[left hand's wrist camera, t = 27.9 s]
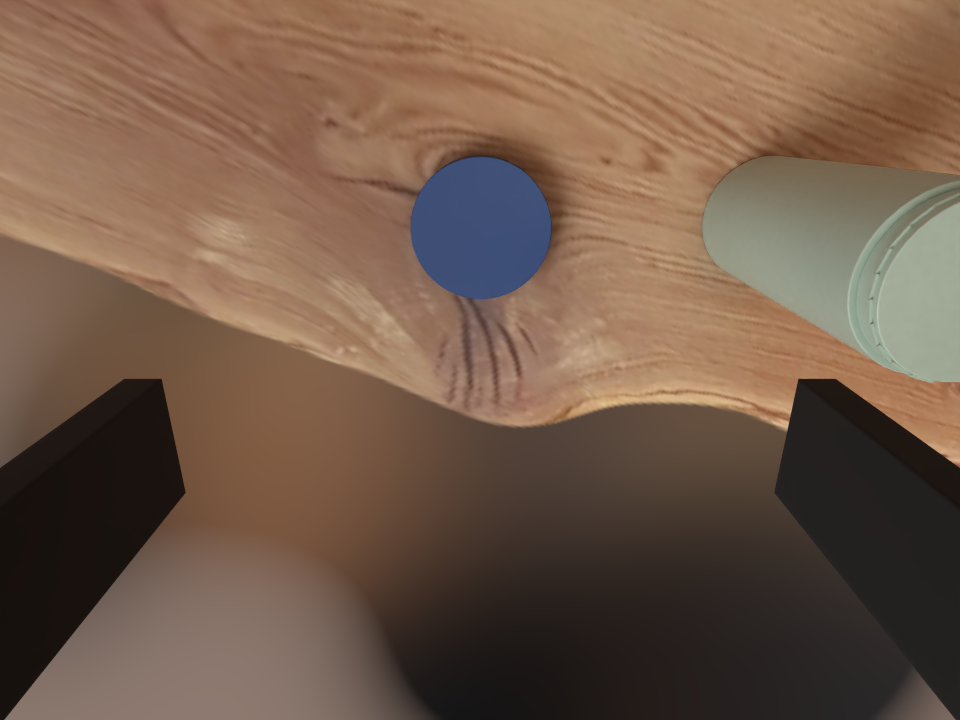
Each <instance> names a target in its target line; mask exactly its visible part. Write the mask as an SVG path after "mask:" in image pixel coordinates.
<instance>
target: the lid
mask: <svg viewBox="0 0 960 720" xmlns="http://www.w3.org/2000/svg"><path fill="white" fill-rule="evenodd" d="M411 238H412V244H413V248H414V251H415V253H416V256H417V258H418V260H419V262H420V264H421V266H422V267H423V269H424V270H425V271H426V273H427V274H428V275H429V276H430V277H431V278H432V279H433V280H434V281H435V282H436V283H437V284H439V285H440V286H441V287H443V288H445V289H446V290H448V291H450V292H452V293H454V294H457V295H460V296H463V297H468V298H474V299H488V298H494V297H499V296H502V295H505V294H508V293H510V292H512V291H514V290H516V289H518V288H519V287H521V286H522V285H523V284H525V283H526V282H527V281H528V280H529V279H530V278H531V277H532V276H533V275H534V274H535V273H536V271H537V270H538V269H539V267H540V266H541V264H542V262H543V260H544V258H545V256H546V254H547V251H548V248H549V244H550V240H551V217H550V211H549V208H548V204H547V202H546V199H545V197H544V195H543V193H542V192H541V190H540V188H539V187H538V185H537V184H536V183H535V182H534V180H533V179H532V178H531V177H530V176H529V175H528V174H527V173H526V172H525V171H523V170H522V169H521V168H519V167H518V166H516V165H515V164H513V163H511V162H509V161H507V160H504V159H501V158H497V157H492V156H482V155H479V156H469V157H465V158H461V159H458V160H456V161H453V162H451V163H449V164H448V165H446V166H444V167H443V168H441V169H440V170H439V171H437V172H436V173H435V174H434V175H433V176H432V177H431V178H430V179H429V181H428V182H427V183H426V184H425V186H424V187H423V188H422V190H421V192H420V193H419V195H418V197H417V200H416V202H415V205H414V208H413V212H412V218H411Z"/></svg>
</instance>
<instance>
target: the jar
mask: <svg viewBox="0 0 960 720" xmlns="http://www.w3.org/2000/svg"><path fill="white" fill-rule="evenodd" d="M702 234H703V240H704V244H705V247H706V249H707V251H708V253H709V255H710V257H711V258H712V260H713V261H714V262H715V263H716V264H717V265H718V266H719V267H720V268H721V269H723V270H724V271H725V272H727V273H729V274H730V275H732V276H734V277H735V278H737V279H739V280H740V281H742V282H744V283H745V284H747V285H749V286H750V287H752V288H754V289H755V290H757V291H759V292H760V293H762V294H764V295H765V296H767V297H769V298H770V299H772V300H774V301H775V302H777V303H779V304H780V305H782V306H784V307H785V308H787V309H789V310H790V311H792V312H794V313H795V314H797V315H799V316H800V317H802V318H804V319H805V320H807V321H809V322H810V323H812V324H814V325H815V326H817V327H818V328H820V329H822V330H823V331H825V332H827V333H828V334H830V335H832V336H833V337H835V338H837V339H838V340H840V341H842V342H843V343H845V344H847V345H848V346H850V347H852V348H853V349H855V350H857V351H858V352H860V353H862V354H863V355H865V356H867V357H868V358H870V359H872V360H873V361H875V362H877V363H878V364H880V365H882V366H884V367H886V368H888V369H891V370H893V371H896V372H900V373H905V374H906V375H908V376H910V377H912V378H916V379H919V380H923V381H926V382H930V383H933V382H934V381H941V382H960V175H955V174H946V173H936V172H927V171H917V170H908V169H899V168H889V167H880V166H871V165H861V164H852V163H842V162H833V161H824V160H814V159H805V158H796V157H786V156H764V157H759V158H756V159H752V160H750V161H748V162H745V163H743V164H741V165H740V166H738V167H736V168H735V169H734V170H732V171H731V172H730V173H728V174H727V175H726V176H725V177H724V178H723V179H722V180H721V182H720V183H719V184H718V185H717V186H716V188H715V190H714V191H713V193H712V194H711V196H710V198H709V200H708V202H707V205H706V208H705V211H704V216H703V223H702Z"/></svg>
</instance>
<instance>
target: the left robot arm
mask: <svg viewBox="0 0 960 720" xmlns="http://www.w3.org/2000/svg"><path fill="white" fill-rule="evenodd" d="M184 494H185V488H184V483H183V478H182V473H181V469H180V464H179V459H178V455H177V450H176V445H175V440H174V436H173V431H172V426H171V421H170V417H169V412H168V407H167V403H166V398H165V393H164V388H163V384H162V379H124V380H122V381H121V382H119V383H118V384H117V385H115V386H114V387H112V388H111V389H110V390H108V391H107V392H105V393H104V394H103V395H101V396H100V397H98V398H97V399H96V400H94V401H93V402H92V403H90V404H89V405H87V406H86V407H85V408H83V409H82V410H80V411H79V412H78V413H76V414H75V415H73V416H72V417H71V418H69V419H68V420H66V421H65V422H64V423H62V424H61V425H59V426H58V427H57V428H55V429H54V430H52V431H51V432H50V433H48V434H47V435H46V436H44V437H43V438H41V439H40V440H39V441H37V442H36V443H34V444H33V445H32V446H30V447H29V448H27V449H26V450H25V451H23V452H22V453H20V454H19V455H18V456H16V457H15V458H13V459H12V460H11V461H9V462H8V463H7V464H5V465H4V466H2V467H1V468H0V720H4V719H5V718H6V717H7V716H8V714H9V713H10V712H11V711H12V709H13V708H14V707H15V706H16V704H17V703H18V702H19V701H20V699H21V698H22V697H23V696H24V694H25V693H26V692H27V691H28V689H29V688H30V687H31V686H32V684H33V683H34V682H35V680H36V679H37V678H38V677H39V676H40V674H41V673H42V672H43V671H44V669H45V668H46V667H47V666H48V664H49V663H50V662H51V661H52V659H53V658H54V657H55V656H56V654H57V653H58V652H59V650H60V649H61V648H62V647H63V645H64V644H65V643H66V642H67V640H68V639H69V638H70V637H71V635H72V634H73V633H74V632H75V630H76V629H77V628H78V627H79V625H80V624H81V623H82V622H83V620H84V619H85V618H86V617H87V615H88V614H89V613H90V612H91V610H92V609H93V608H94V607H95V605H96V604H97V603H98V602H99V600H100V599H101V598H102V597H103V595H104V594H105V593H106V592H107V590H108V589H109V588H110V587H111V585H112V584H113V583H114V582H115V580H116V579H117V578H118V577H119V575H120V574H121V573H122V572H123V570H124V569H125V568H126V567H127V565H128V564H129V563H130V562H131V560H132V559H133V558H134V557H135V555H136V554H137V553H138V552H139V550H140V549H141V548H142V547H143V545H144V544H145V543H146V542H147V540H148V539H149V538H150V536H151V535H152V534H153V533H154V532H155V530H156V529H157V528H158V527H159V525H160V524H161V523H162V521H163V520H164V519H165V518H166V516H167V515H168V514H169V513H170V511H171V510H172V509H173V508H174V506H175V505H176V504H177V503H178V501H179V500H180V499H181V498H182V496H183V495H184ZM775 494H776V495H777V496H778V498H779V499H780V500H781V501H782V503H783V504H784V505H785V506H786V508H787V509H788V510H789V511H790V513H791V514H792V515H793V516H794V518H795V519H796V520H797V522H798V523H799V524H800V525H801V526H802V528H803V529H804V530H805V532H806V533H807V534H808V535H809V537H810V538H811V539H812V540H813V541H814V543H815V544H816V545H817V547H818V548H819V549H820V550H821V552H822V553H823V554H824V555H825V557H826V558H827V559H828V560H829V562H830V563H831V564H832V565H833V567H834V568H835V569H836V570H837V572H838V573H839V574H840V575H841V577H842V578H843V579H844V580H845V582H846V583H847V584H848V585H849V587H850V588H851V589H852V590H853V592H854V593H855V594H856V595H857V597H858V598H859V599H860V600H861V602H862V603H863V604H864V605H865V607H866V608H867V609H868V610H869V612H870V613H871V614H872V615H873V617H874V618H875V619H876V620H877V622H878V623H879V624H880V625H881V627H882V628H883V629H884V630H885V632H886V633H887V634H888V635H889V637H890V638H891V639H892V640H893V642H894V643H895V644H896V646H897V647H898V648H899V649H900V650H901V652H902V653H903V654H904V656H905V657H906V658H907V659H908V661H909V662H910V663H911V664H912V666H913V667H914V668H915V669H916V671H917V672H918V673H919V674H920V676H921V677H922V678H923V679H924V681H925V682H926V683H927V684H928V686H929V687H930V688H931V689H932V691H933V692H934V693H935V694H936V695H937V697H938V698H939V699H940V701H941V702H942V703H943V704H944V706H945V707H946V708H947V709H948V711H949V712H950V713H951V714H952V716H953V717H954V718H955V719H956V720H960V468H959V467H958V466H956V465H955V464H954V463H952V462H951V461H949V460H948V459H947V458H945V457H944V456H942V455H941V454H940V453H938V452H937V451H935V450H934V449H933V448H931V447H930V446H928V445H927V444H926V443H924V442H923V441H921V440H920V439H919V438H917V437H916V436H914V435H913V434H912V433H910V432H909V431H908V430H906V429H905V428H903V427H902V426H901V425H899V424H898V423H896V422H895V421H894V420H892V419H891V418H889V417H888V416H887V415H885V414H884V413H882V412H881V411H880V410H878V409H877V408H875V407H874V406H873V405H871V404H870V403H868V402H867V401H866V400H864V399H863V398H862V397H860V396H859V395H857V394H856V393H855V392H853V391H852V390H850V389H849V388H848V387H846V386H845V385H843V384H842V383H841V382H839V381H838V380H836V379H798V384H797V388H796V393H795V398H794V402H793V407H792V412H791V417H790V421H789V426H788V431H787V436H786V440H785V445H784V450H783V454H782V459H781V464H780V469H779V473H778V478H777V483H776V488H775Z"/></svg>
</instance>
